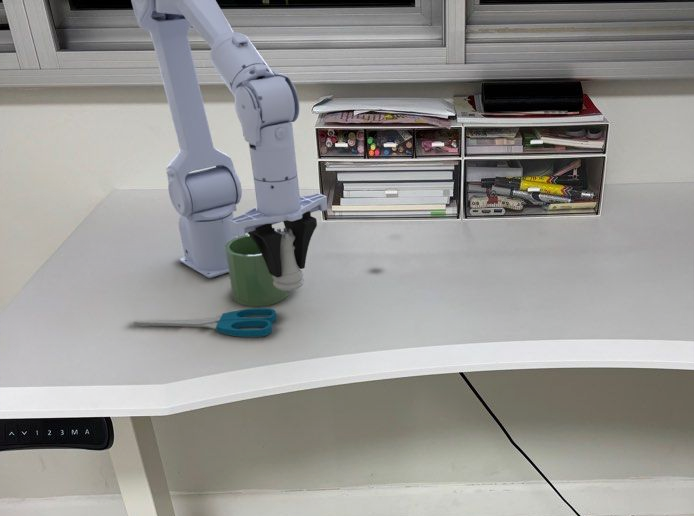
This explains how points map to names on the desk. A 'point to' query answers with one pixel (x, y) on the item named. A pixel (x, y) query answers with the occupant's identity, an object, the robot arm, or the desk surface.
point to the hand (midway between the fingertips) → (287, 270)
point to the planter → (250, 274)
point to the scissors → (229, 322)
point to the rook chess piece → (288, 264)
